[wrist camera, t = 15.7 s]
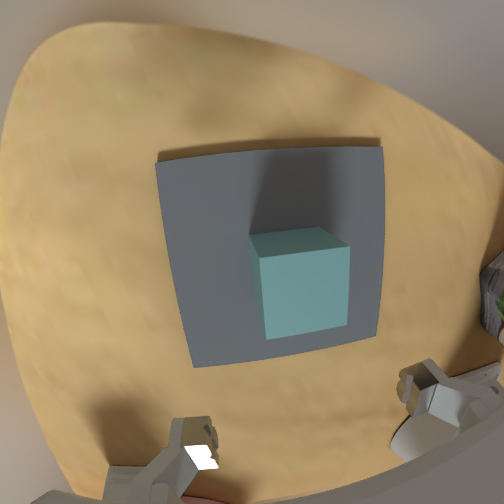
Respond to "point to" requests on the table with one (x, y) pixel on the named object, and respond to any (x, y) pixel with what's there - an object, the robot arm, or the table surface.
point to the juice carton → (493, 298)
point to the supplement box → (119, 483)
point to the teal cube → (300, 281)
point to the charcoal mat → (264, 221)
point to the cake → (198, 500)
